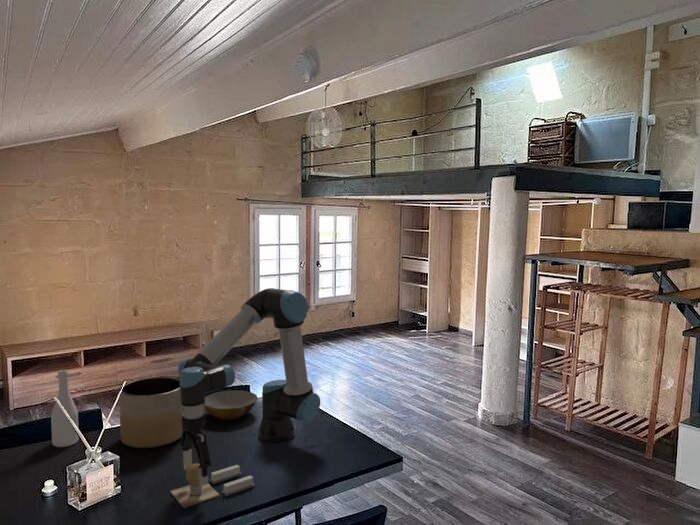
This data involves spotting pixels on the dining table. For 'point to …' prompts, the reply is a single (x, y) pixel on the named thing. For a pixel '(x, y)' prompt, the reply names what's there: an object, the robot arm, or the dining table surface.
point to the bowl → (230, 404)
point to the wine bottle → (60, 424)
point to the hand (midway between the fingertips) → (195, 476)
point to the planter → (150, 412)
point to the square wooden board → (188, 499)
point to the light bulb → (194, 479)
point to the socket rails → (234, 485)
